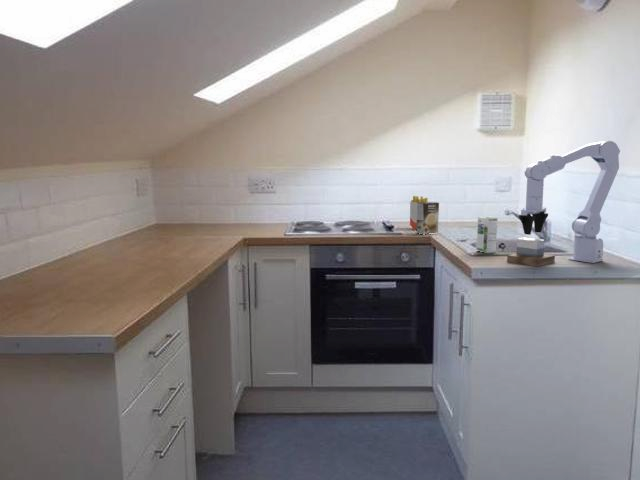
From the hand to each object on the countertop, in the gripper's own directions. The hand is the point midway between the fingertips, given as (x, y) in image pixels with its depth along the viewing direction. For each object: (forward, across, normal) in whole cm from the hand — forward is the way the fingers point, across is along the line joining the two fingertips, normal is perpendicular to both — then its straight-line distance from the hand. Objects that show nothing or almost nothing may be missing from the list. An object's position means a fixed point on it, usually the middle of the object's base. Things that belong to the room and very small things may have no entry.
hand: (532, 233), depth 199 cm
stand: (+10, +3, +1) cm, 11 cm away
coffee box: (+10, -26, -70) cm, 76 cm away
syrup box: (+10, -4, -22) cm, 24 cm away
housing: (+8, +3, +1) cm, 8 cm away
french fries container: (+10, -36, -83) cm, 91 cm away
